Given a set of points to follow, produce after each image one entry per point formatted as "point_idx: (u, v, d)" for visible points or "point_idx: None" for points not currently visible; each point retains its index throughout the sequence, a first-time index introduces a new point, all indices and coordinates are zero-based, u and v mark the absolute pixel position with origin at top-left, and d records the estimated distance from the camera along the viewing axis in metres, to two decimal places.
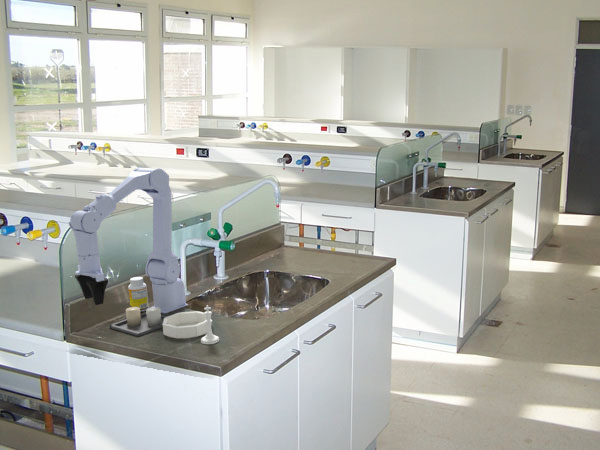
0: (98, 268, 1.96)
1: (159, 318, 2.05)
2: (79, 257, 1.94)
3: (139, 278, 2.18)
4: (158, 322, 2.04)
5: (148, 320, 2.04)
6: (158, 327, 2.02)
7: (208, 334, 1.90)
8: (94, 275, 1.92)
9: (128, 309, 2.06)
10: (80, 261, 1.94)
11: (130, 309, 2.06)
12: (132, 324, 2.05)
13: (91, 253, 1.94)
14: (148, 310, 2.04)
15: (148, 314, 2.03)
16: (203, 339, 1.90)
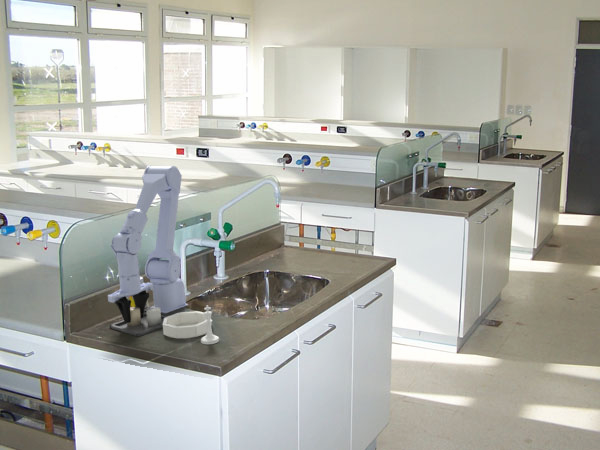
0: (126, 290, 2.02)
1: (159, 318, 2.05)
2: None
3: None
4: (158, 322, 2.04)
5: (148, 320, 2.04)
6: (158, 327, 2.02)
7: (208, 334, 1.90)
8: None
9: None
10: None
11: (130, 309, 2.06)
12: (132, 324, 2.05)
13: (134, 273, 2.02)
14: (148, 310, 2.04)
15: (148, 314, 2.03)
16: (203, 339, 1.90)
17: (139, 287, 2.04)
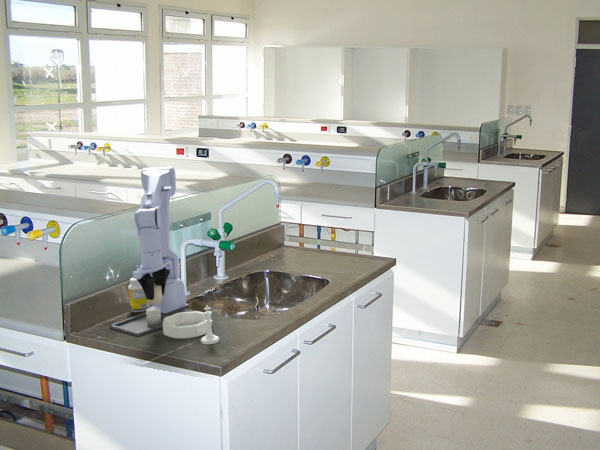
0: (150, 266, 1.98)
1: (159, 318, 2.05)
2: None
3: None
4: (158, 322, 2.04)
5: (148, 320, 2.04)
6: (158, 327, 2.02)
7: (208, 334, 1.90)
8: None
9: None
10: None
11: None
12: (155, 301, 2.01)
13: (160, 248, 1.99)
14: (148, 310, 2.04)
15: (148, 314, 2.03)
16: (203, 339, 1.90)
17: (162, 263, 2.01)
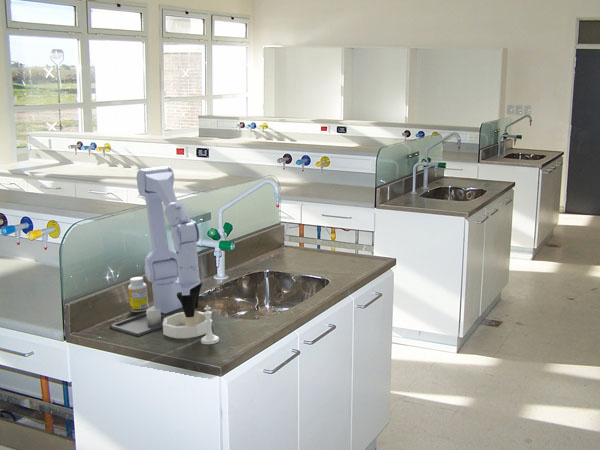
0: (193, 281, 1.96)
1: (159, 318, 2.05)
2: (177, 267, 1.97)
3: (139, 278, 2.18)
4: (158, 322, 2.04)
5: (148, 320, 2.04)
6: (158, 327, 2.02)
7: (208, 334, 1.90)
8: (181, 288, 1.93)
9: None
10: (178, 272, 1.97)
11: None
12: None
13: None
14: (148, 310, 2.04)
15: (148, 314, 2.03)
16: (203, 339, 1.90)
17: None
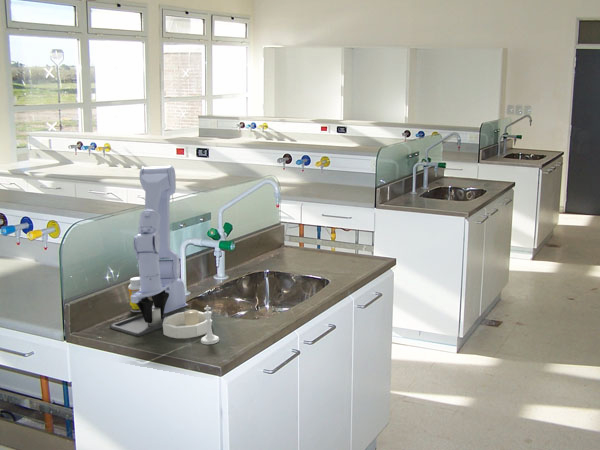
0: (148, 290, 2.01)
1: (159, 318, 2.05)
2: None
3: (139, 278, 2.18)
4: (158, 322, 2.04)
5: None
6: (158, 327, 2.02)
7: (208, 334, 1.90)
8: None
9: (187, 313, 1.99)
10: None
11: (189, 312, 2.00)
12: None
13: (158, 272, 2.02)
14: None
15: None
16: (203, 339, 1.90)
17: (160, 287, 2.03)
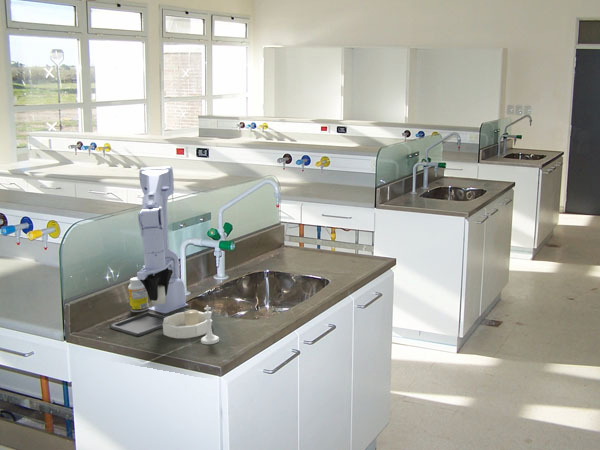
0: (154, 267, 1.97)
1: (164, 296, 2.01)
2: None
3: None
4: (163, 300, 2.01)
5: None
6: (158, 327, 2.02)
7: (208, 334, 1.90)
8: None
9: (187, 313, 1.99)
10: None
11: (189, 312, 2.00)
12: None
13: (163, 248, 1.98)
14: None
15: None
16: (203, 339, 1.90)
17: (165, 263, 2.00)
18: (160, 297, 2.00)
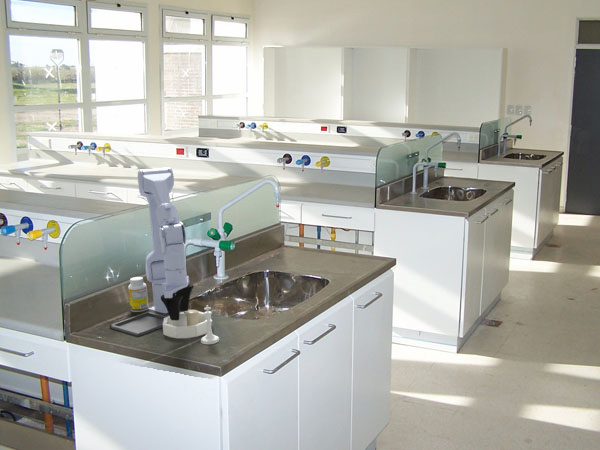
0: (178, 284, 1.92)
1: None
2: None
3: (139, 278, 2.18)
4: None
5: None
6: (158, 327, 2.02)
7: (208, 334, 1.90)
8: (165, 291, 1.89)
9: (187, 313, 1.99)
10: (165, 273, 1.94)
11: (189, 312, 2.00)
12: None
13: (185, 264, 1.94)
14: None
15: (176, 322, 1.95)
16: (203, 339, 1.90)
17: (186, 280, 1.95)
18: None
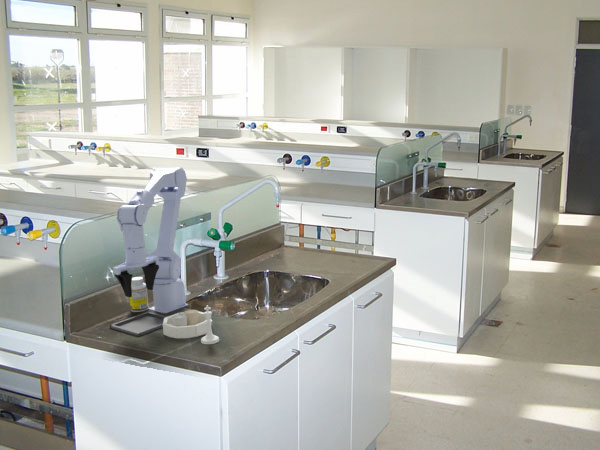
0: (132, 263, 1.99)
1: None
2: None
3: (139, 278, 2.18)
4: None
5: None
6: (158, 327, 2.02)
7: (208, 334, 1.90)
8: None
9: (187, 313, 1.99)
10: None
11: (189, 312, 2.00)
12: None
13: (141, 245, 2.00)
14: (175, 318, 1.96)
15: (176, 322, 1.95)
16: (203, 339, 1.90)
17: (145, 260, 2.01)
18: None
